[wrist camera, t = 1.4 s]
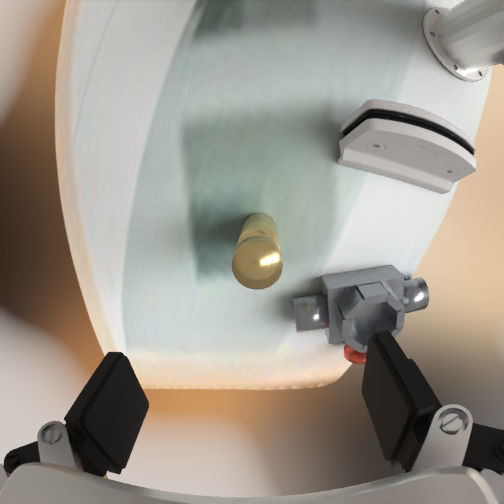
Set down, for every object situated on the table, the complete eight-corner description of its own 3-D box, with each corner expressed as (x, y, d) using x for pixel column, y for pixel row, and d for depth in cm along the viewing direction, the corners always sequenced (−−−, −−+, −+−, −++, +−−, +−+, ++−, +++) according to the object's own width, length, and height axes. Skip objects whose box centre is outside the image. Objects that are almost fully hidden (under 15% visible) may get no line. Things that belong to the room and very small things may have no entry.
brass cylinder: (273, 210, 33) (279, 239, 22) (278, 243, 34) (285, 286, 23) (240, 215, 33) (227, 246, 22) (245, 247, 35) (236, 292, 23)
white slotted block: (334, 163, 31) (366, 128, 21) (336, 128, 31) (365, 86, 21) (444, 194, 31) (493, 179, 21) (443, 163, 31) (488, 141, 21)
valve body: (416, 260, 34) (442, 281, 28) (408, 330, 38) (427, 357, 31) (290, 279, 36) (296, 307, 29) (297, 351, 39) (302, 384, 33)
